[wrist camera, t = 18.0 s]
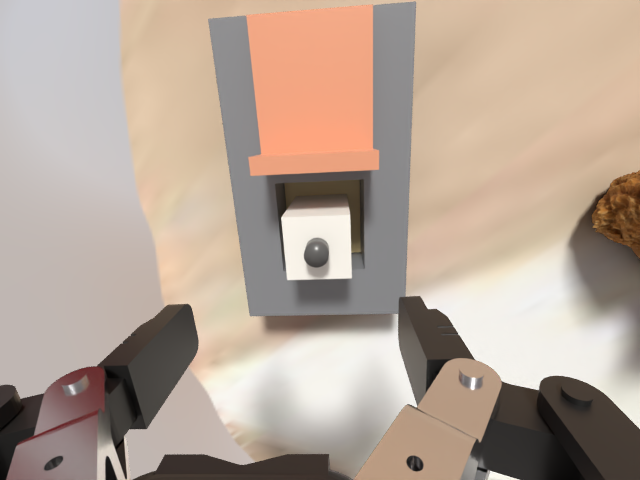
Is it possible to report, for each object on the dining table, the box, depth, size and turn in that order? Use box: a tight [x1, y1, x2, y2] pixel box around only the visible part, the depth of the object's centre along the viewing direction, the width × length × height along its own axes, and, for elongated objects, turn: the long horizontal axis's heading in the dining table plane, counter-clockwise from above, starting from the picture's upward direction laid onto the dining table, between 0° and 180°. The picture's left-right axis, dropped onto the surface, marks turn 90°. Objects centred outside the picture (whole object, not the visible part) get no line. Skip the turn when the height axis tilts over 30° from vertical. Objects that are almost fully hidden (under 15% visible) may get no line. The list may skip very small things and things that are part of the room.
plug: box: [281, 194, 352, 280], centre depth 21 cm, size 4×4×8 cm
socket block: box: [208, 2, 416, 316], centre depth 23 cm, size 20×12×4 cm, turn 3°
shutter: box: [246, 5, 379, 176], centre depth 17 cm, size 8×7×4 cm
